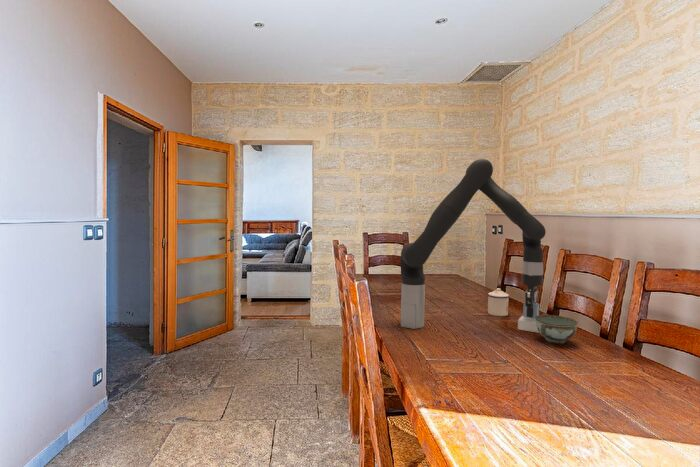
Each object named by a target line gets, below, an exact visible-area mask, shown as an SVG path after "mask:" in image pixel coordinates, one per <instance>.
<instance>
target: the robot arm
mask: <svg viewBox="0 0 700 467" xmlns="http://www.w3.org/2000/svg"><path fill="white" fill-rule="evenodd" d="M465 170H466V171H465V174H464V176H463V177H462V178H461V180H460V182H459V183H458V184H457V185H456V186H455V187H454V188H453V190H451V191H450V192H449V193H448V194H447V195H446V196H445V197H444V198H443V199H442V200H441V202H440V203H439V205H438V206H437V207H436V208H435V209H434V211H433V212H432V213H431V215H430V217H429V219H428V220H427V224H426V226H425V227H424V230H423V232H422V233H421V234H420V235H419V236H418V237H417V238H416V239H415V240H414V241H413V242H409V243H407V244H405V245H404V246H403V247H402V248H401V252H400V276H401V296H400V297H401V302H400V303H401V304H400V327H402V328H407V329H412V330H415V329H423V328H424V327H425V302H426V300H425V299H426V298H425V293H426V292H425V291H426V277H425V274H424V265H425V263H426V262H427V261H428V259H429V257H430V256H431V254H432V252H433V251H434V249H435V248H436V246H437V245H438V244H439V242H440V241H441V240H442V239H443V237H445V235H446V234H447V233H448V232H449V230H450V229H451V228H452V227H453V225H454V224H455V223H456V222H457V221H458V220H459V218H460V217H461V215H462V214H463V213H464V211H465V209H466V208H467V206H468V205H469V203H470V202H471V200H472V198H473V197H474V195H475V194H476V193H477V192H478V191H480V192H481V193H483V194H484V195H485V196H486V197H487V198H488V199H489V200H491V201H492V203H494V204H495V206H497V207H498V209H499V210H500V211H501V212H502V213H503V214H504V215H505V216H506V218H508V219H509V220H510V222H512V223H513V224H515V225H516V226H517V227H518V228H519V229H520V231H522V232H521V233H522V234H521V235H522V245H523V252H522V253H523V254H522V255H523V256H522V261H523V262H522V265H521V266H522V268H521V284H522V285H523V286H527V288H526V289H525V293H524V296H525V297H524V299H525V302H524V303H525V306H526V307H527V317H533V307H534V303H537V304H538V295H539V294H538V293H539V288H538V287H541V286H543V283H544V264H543V263H544V260H543V259H544V250H543V248H542V239H544V237H545V236H546V232H547V231H546V228H545V226H544V225H543V224H542V223H541V222H540V221H539V220H538V219H537V218H536V217H535V216H533V215H532V214H531V213H530V212H529V211H528V210H527V209H526V207H524V206H523V204H522V203H521V201H519V200H518V199H516V198H515V196H513V195H511V193H509V192H507V191H506V190H505V189H503V188H501V186H500V185H498V184H497V183H496V182H495V180H494V179H493V178H492V175H493V172H494V167H493V164H492V163H491V161H490V160H489V159H485V158H480V159H476V160H474V161H473V162H472V163H470V164H469V166H467V168H466V169H465ZM528 302H529V303H531V304H528Z"/></svg>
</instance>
